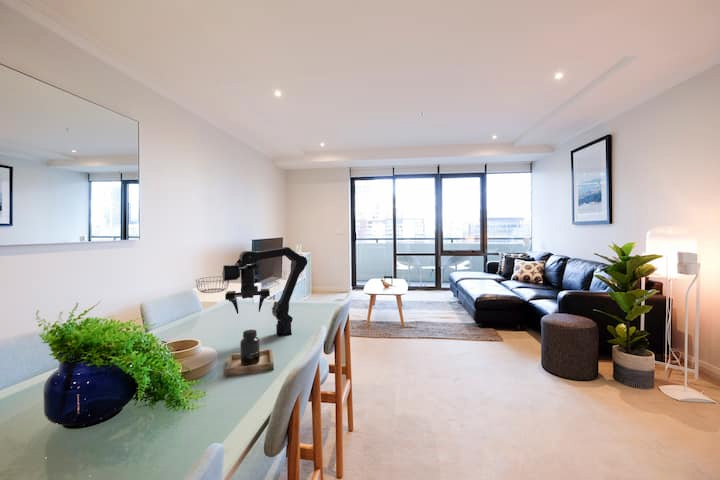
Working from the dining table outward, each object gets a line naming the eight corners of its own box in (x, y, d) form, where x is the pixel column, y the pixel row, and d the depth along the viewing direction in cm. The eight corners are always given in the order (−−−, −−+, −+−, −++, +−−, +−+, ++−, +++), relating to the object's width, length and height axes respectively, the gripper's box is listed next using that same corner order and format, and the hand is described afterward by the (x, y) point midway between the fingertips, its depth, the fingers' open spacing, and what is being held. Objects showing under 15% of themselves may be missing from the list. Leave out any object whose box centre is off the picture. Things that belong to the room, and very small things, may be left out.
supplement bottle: (254, 367, 114) (253, 334, 114) (237, 366, 115) (236, 334, 114) (263, 359, 121) (262, 328, 120) (246, 358, 122) (245, 328, 121)
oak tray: (271, 354, 127) (271, 348, 127) (273, 369, 114) (273, 363, 114) (229, 360, 122) (229, 354, 122) (226, 377, 109) (225, 370, 109)
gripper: (223, 283, 131) (224, 319, 132) (269, 280, 137) (270, 315, 138) (226, 279, 142) (227, 312, 142) (268, 276, 148) (269, 309, 148)
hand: (248, 312), depth 142 cm, fingers open, 9 cm apart
